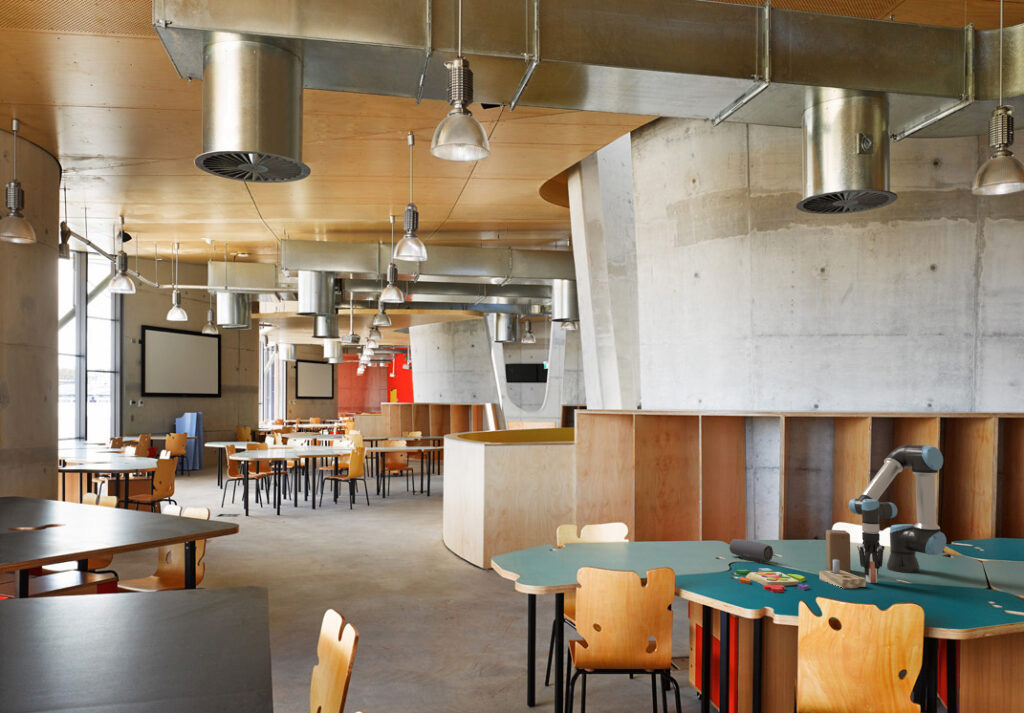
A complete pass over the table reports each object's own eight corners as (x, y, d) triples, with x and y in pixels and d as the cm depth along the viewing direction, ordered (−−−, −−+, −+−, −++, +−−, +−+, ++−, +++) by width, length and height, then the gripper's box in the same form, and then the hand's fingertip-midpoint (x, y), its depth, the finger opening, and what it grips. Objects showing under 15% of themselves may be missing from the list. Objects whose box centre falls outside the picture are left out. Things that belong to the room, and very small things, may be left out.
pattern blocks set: (718, 576, 373) (718, 569, 374) (771, 571, 387) (771, 565, 387) (773, 594, 338) (773, 587, 339) (829, 588, 352) (829, 581, 352)
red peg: (872, 582, 363) (872, 560, 364) (876, 583, 360) (876, 562, 361) (866, 582, 363) (866, 561, 363) (870, 583, 360) (870, 562, 360)
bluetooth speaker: (774, 562, 406) (774, 543, 406) (763, 564, 400) (763, 545, 401) (739, 555, 424) (739, 537, 425) (728, 556, 419) (728, 538, 420)
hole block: (841, 578, 370) (841, 570, 370) (865, 587, 352) (865, 578, 352) (819, 579, 367) (819, 571, 368) (842, 588, 350) (842, 579, 350)
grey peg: (837, 580, 366) (836, 559, 366) (841, 581, 363) (840, 560, 363) (831, 580, 365) (831, 559, 366) (835, 582, 362) (835, 560, 363)
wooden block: (851, 573, 381) (850, 533, 382) (829, 572, 383) (829, 532, 384) (846, 569, 391) (845, 530, 392) (825, 568, 393) (825, 529, 394)
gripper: (880, 530, 368) (880, 579, 367) (851, 531, 365) (851, 580, 364) (890, 533, 361) (891, 583, 359) (861, 533, 358) (861, 584, 356)
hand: (871, 581), depth 361 cm, fingers closed on red peg, 3 cm apart
